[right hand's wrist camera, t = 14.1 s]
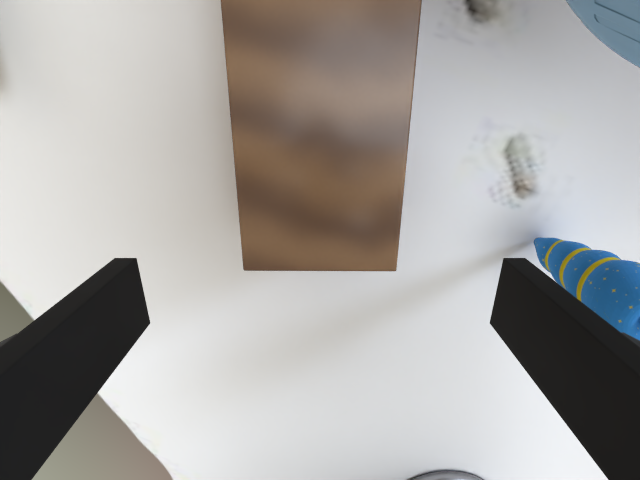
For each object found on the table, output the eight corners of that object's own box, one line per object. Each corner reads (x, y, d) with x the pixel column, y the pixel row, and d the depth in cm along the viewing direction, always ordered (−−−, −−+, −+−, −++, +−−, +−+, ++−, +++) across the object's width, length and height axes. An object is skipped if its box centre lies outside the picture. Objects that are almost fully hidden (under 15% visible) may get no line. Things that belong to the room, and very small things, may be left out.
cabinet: (249, -17, 27) (214, -75, 18) (392, -16, 27) (429, -74, 18) (263, 226, 34) (243, 271, 25) (376, 226, 34) (396, 271, 25)
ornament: (569, 249, 35) (737, 350, 21) (519, 274, 36) (647, 386, 22) (552, 206, 33) (722, 284, 19) (500, 233, 34) (625, 327, 20)
